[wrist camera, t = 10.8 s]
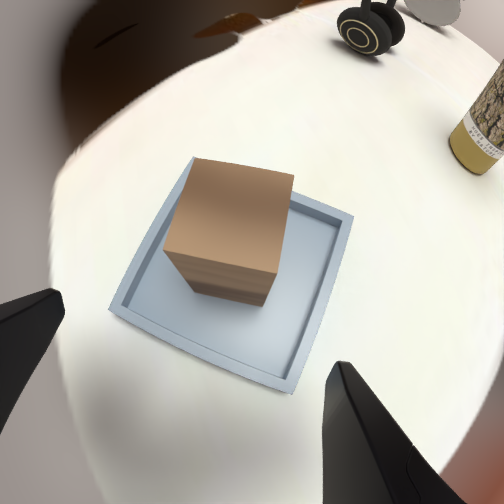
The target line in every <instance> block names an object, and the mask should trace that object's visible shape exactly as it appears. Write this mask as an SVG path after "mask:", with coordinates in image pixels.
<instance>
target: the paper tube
mask: <svg viewBox="0 0 504 504" xmlns="http://www.w3.org/2000/svg"><path fill="white" fill-rule="evenodd" d="M450 144H451V147H452V150H453V152H454V154H455V155H456V157H457V158H458V159H459V161H460V162H461V163H462V164H463V165H464V166H465V167H466V168H467V169H469V170H470V171H472V172H474V173H477V174H483V173H485V172H487V171H488V170H489V169H490V168H491V167H492V166H493V165H494V164H495V163H496V162H497V161H498V160H499V159H500V158H501V157H502V156H503V155H504V59H503V61H502V63H501V64H500V66H499V67H498V69H497V70H496V72H495V73H494V75H493V76H492V78H491V79H490V81H489V82H488V84H487V85H486V87H485V88H484V89H483V91H482V92H481V94H480V95H479V97H478V98H477V99H476V101H475V102H474V104H473V105H472V106H471V108H470V109H469V110H468V112H467V113H466V115H465V116H464V118H463V119H462V120H461V122H460V123H459V124H458V126H457V127H456V128H455V129H454V131H453V132H452V134H451V136H450Z"/></svg>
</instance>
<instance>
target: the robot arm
mask: <svg viewBox="0 0 504 504" xmlns="http://www.w3.org/2000/svg"><path fill="white" fill-rule="evenodd" d="M64 315H65V308H64V304H63V299H62V295H61V293H60V291H58V290H55V289H53V288H49V289H45V290H42V291H39V292H36V293H33V294H30V295H27V296H24V297H21V298H18V299H15V300H12V301H9V302H6V303H3V304H0V434H1V432H2V430H3V427H4V425H5V423H6V421H7V419H8V417H9V415H10V413H11V411H12V409H13V407H14V406H15V404H16V402H17V400H18V398H19V396H20V394H21V393H22V391H23V389H24V387H25V385H26V384H27V382H28V380H29V379H30V377H31V375H32V373H33V372H34V370H35V368H36V367H37V365H38V363H39V362H40V360H41V358H42V357H43V355H44V354H45V352H46V350H47V348H48V346H49V345H50V343H51V340H52V339H53V337H54V335H55V333H56V331H57V329H58V327H59V325H60V323H61V322H62V320H63V318H64ZM412 445H413V443H412V442H411V441H410V439H409V438H408V437H407V435H406V434H405V433H404V431H403V430H402V429H401V428H400V426H399V425H398V424H397V422H396V421H395V420H394V418H393V417H392V416H391V414H390V413H389V412H388V411H387V409H386V408H385V407H384V405H383V404H382V403H381V401H380V400H379V399H378V398H377V396H376V395H375V394H374V392H373V391H372V390H371V388H370V387H369V386H368V385H367V383H366V382H365V381H364V379H363V378H362V377H361V375H360V374H359V373H358V372H357V370H356V369H355V368H354V366H353V365H352V364H351V363H350V362H345V361H337V362H336V363H335V364H334V366H333V368H332V370H331V372H330V374H329V376H328V378H327V380H326V385H325V399H324V411H323V423H322V448H323V504H467V503H465V502H464V501H463V500H462V499H461V498H460V497H459V496H458V495H457V494H456V493H455V492H454V491H453V490H452V489H451V488H450V487H449V486H448V485H447V484H446V482H444V480H442V478H441V477H440V476H439V475H438V474H437V473H436V472H435V471H434V469H433V468H432V467H431V466H430V465H429V464H428V462H427V461H426V460H425V459H424V457H423V456H422V455H421V454H420V452H419V451H418V450H417V448H416V447H415V446H414V445H413V446H412Z"/></svg>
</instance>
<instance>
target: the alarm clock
mask: <svg viewBox="0 0 504 504" xmlns="http://www.w3.org/2000/svg"><path fill="white" fill-rule="evenodd" d="M404 2H405V4H406V6H407V7H408V9H409V10H408V12H410V11H411V12H412V13H413V14H414V15H415V16H416V17H417V18H419V19H420V20H421V23H423V22H426V23H428V24H431V25H435V26H437V27H438V28H439V26H446V25H450V24H452V23H453V22H455V21H456V20H457V19H458V17H459V15H460V11H461V9H460V0H404Z"/></svg>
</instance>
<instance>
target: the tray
mask: <svg viewBox="0 0 504 504" xmlns="http://www.w3.org/2000/svg"><path fill="white" fill-rule="evenodd" d="M195 158H196V157H193V158H192V159H191V161H190V162H189V164H188V165H187V167H186V168H185V170H184V171H183V173H182V175H181V176H180V178H179V179H178V181H177V182H176V184H175V186H174V187H173V189H172V191H171V192H170V194H169V195H168V197H167V199H166V200H165V202H164V204H163V205H162V207H161V209H160V211H159V212H158V214H157V216H156V217H155V219H154V221H153V223H152V224H151V226H150V228H149V230H148V232H147V233H146V235H145V237H144V239H143V241H142V243H141V244H140V246H139V248H138V250H137V252H136V254H135V256H134V258H133V259H132V261H131V263H130V265H129V267H128V269H127V271H126V273H125V275H124V277H123V279H122V281H121V283H120V285H119V287H118V289H117V291H116V294H115V296H114V298H113V300H112V302H111V304H110V306H109V308H108V310H109V311H111V312H112V313H114V314H116V315H118V316H119V317H121V318H123V319H125V320H126V321H128V322H130V323H132V324H133V325H135V326H137V327H139V328H141V329H143V330H144V331H146V332H148V333H150V334H152V335H154V336H156V337H158V338H160V339H162V340H164V341H166V342H168V343H170V344H172V345H174V346H176V347H178V348H180V349H182V350H184V351H186V352H188V353H190V354H192V355H194V356H196V357H199V358H201V359H203V360H205V361H207V362H210V363H212V364H214V365H217V366H219V367H221V368H223V369H226V370H228V371H231V372H233V373H235V374H238V375H240V376H243V377H245V378H248V379H250V380H253V381H255V382H258V383H261V384H263V385H266V386H269V387H271V388H274V389H277V390H280V391H283V392H285V393H288V394H291V395H292V394H293V392H294V390H295V387H296V385H297V383H298V380H299V378H300V375H301V373H302V370H303V368H304V365H305V363H306V360H307V358H308V355H309V353H310V350H311V348H312V345H313V342H314V340H315V337H316V334H317V332H318V329H319V326H320V324H321V321H322V318H323V315H324V312H325V309H326V307H327V304H328V301H329V298H330V295H331V292H332V289H333V286H334V283H335V280H336V277H337V273H338V270H339V267H340V264H341V261H342V257H343V254H344V251H345V247H346V244H347V240H348V237H349V233H350V230H351V226H352V222H353V219H354V216H352V215H350V214H348V213H345V212H343V211H341V210H338V209H336V208H334V207H331V206H329V205H326V204H324V203H321V202H319V201H316V200H314V199H311V198H309V197H306V196H304V195H301V194H299V193H296V192H294V191H292V192H291V198H290V205H289V211H288V216H287V222H286V228H285V234H284V240H283V245H282V251H281V257H280V262H279V268H278V273H277V276H276V278H275V280H274V283H273V285H272V287H271V289H270V292H269V294H268V296H267V299H266V301H265V303H264V305H263V307H260V306H255V305H250V304H245V303H240V302H235V301H231V300H226V299H221V298H217V297H212V296H208V295H204V294H199V293H195V292H194V291H193V290H192V288H191V287H190V286H189V284H188V283H187V282H186V281H185V279H184V278H183V277H182V275H181V274H180V273H179V271H178V270H177V269H176V267H175V266H174V265H173V263H172V262H171V261H170V259H169V258H168V256H167V255H166V254H165V252H164V251H163V247H164V243H165V240H166V237H167V234H168V231H169V228H170V225H171V222H172V219H173V216H174V213H175V210H176V207H177V205H178V202H179V199H180V196H181V193H182V190H183V188H184V185H185V182H186V180H187V177H188V174H189V172H190V169H191V166H192V164H193V161H194V159H195Z"/></svg>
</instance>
